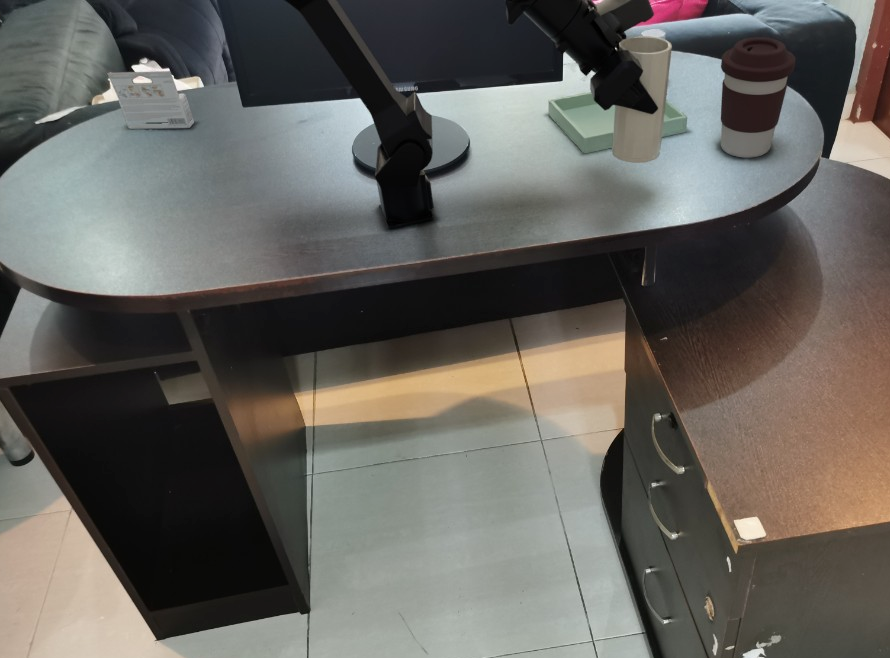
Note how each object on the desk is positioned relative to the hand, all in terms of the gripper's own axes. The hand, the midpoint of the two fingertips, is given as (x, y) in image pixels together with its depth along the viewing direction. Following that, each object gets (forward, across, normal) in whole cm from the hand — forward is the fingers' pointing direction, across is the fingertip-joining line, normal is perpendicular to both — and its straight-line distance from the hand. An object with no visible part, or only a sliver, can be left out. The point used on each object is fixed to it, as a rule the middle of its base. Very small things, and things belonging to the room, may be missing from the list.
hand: (650, 100), depth 107 cm
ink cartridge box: (-44, +36, +64) cm, 85 cm away
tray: (+9, +23, +10) cm, 27 cm away
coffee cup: (+22, +11, -3) cm, 25 cm away
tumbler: (+4, 0, +6) cm, 7 cm away
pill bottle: (+16, +38, +4) cm, 41 cm away
